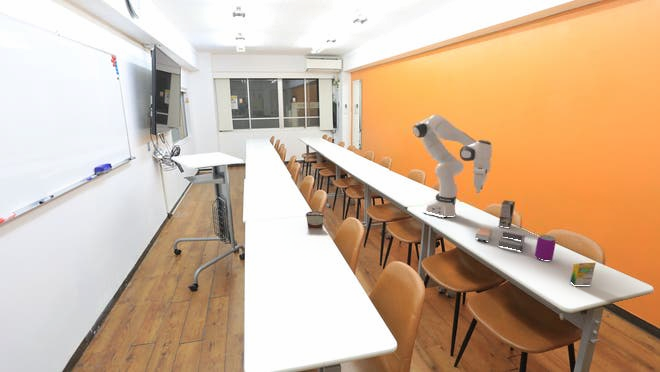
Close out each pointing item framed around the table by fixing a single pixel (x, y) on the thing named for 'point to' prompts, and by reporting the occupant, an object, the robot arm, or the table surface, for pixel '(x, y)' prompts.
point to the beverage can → (545, 247)
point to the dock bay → (512, 245)
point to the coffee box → (506, 213)
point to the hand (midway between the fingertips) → (479, 191)
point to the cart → (483, 234)
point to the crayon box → (582, 273)
